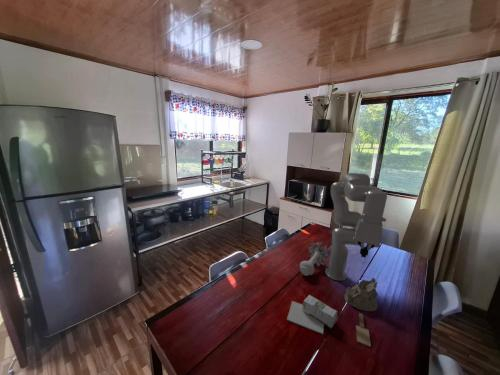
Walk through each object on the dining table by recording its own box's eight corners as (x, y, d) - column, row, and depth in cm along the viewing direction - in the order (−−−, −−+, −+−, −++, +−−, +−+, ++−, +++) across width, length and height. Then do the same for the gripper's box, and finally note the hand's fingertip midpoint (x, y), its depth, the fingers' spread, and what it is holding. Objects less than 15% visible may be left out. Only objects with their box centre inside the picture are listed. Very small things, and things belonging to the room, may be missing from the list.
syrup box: (335, 321, 94) (306, 304, 103) (338, 310, 93) (308, 294, 102) (331, 329, 90) (301, 310, 99) (333, 318, 89) (303, 300, 98)
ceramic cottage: (376, 294, 113) (379, 271, 109) (378, 317, 99) (382, 291, 96) (345, 285, 120) (347, 263, 117) (343, 305, 106) (345, 281, 103)
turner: (354, 313, 100) (355, 311, 100) (366, 317, 98) (366, 315, 98) (357, 342, 86) (357, 339, 85) (370, 347, 84) (371, 345, 84)
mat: (292, 302, 105) (292, 301, 105) (324, 313, 99) (325, 312, 99) (286, 320, 94) (286, 319, 94) (322, 334, 88) (323, 333, 88)
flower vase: (310, 287, 126) (327, 262, 142) (316, 268, 116) (333, 243, 132) (292, 274, 133) (310, 252, 149) (296, 256, 123) (315, 234, 139)
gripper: (389, 219, 89) (380, 256, 93) (352, 212, 94) (345, 247, 99) (393, 225, 82) (383, 265, 87) (352, 218, 88) (345, 255, 92)
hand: (363, 255), depth 93 cm, fingers closed
